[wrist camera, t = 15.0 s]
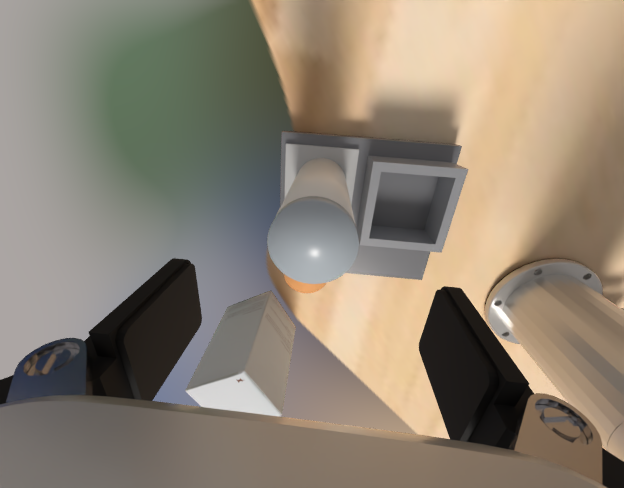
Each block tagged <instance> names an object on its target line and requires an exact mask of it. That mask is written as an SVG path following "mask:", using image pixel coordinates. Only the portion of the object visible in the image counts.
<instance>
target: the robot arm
mask: <svg viewBox="0 0 624 488" xmlns="http://www.w3.org/2000/svg"><path fill="white" fill-rule="evenodd" d="M485 317H486V320H487V322H488V324H489V326H490V327H491V329H492V330H493V331H494V332H495V333H496V334H497V335H498V336H499V337H500V338H502V339H504V340H506V341H509V342H512V343H516V344H521V346H522V347H523V348H524V349H525V350H526V352H527V353H528V354H529V355H530V357H531V358H532V359H533V360H534V361H535V363H536V364H537V365H538V366H539V368H540V369H541V370H542V371H543V373H544V374H545V375H546V376H547V377H548V379H549V380H550V381H551V382H552V384H553V385H554V386H555V387H556V389H557V390H558V391H559V392H560V393H561V395H562V396H563V397H564V398H565V400H566V401H567V402H568V403H567V402H565V401H563V400H561V399H559V398H557V397H555V396H551V395H548V394H542V393H536V394H534V393H533V392H532V390H531V389H530V387H529V386H528V385H529V383H528V381H527V380H526V378H525V377H524V376H523V374H522V373H521V371H520V370H519V369H518V367H517V366H516V364H515V363H514V362H513V360H512V359H511V357H510V356H509V355H508V353H507V352H506V350H505V349H504V348H503V346H502V345H501V344H500V342H499V341H498V339H497V338H496V337H495V335H494V334H493V332H492V331H491V330H490V328H489V327H488V325H487V324H486V323H485V321H484V320H483V318H482V317H481V316H480V314H479V313H478V311H477V310H476V309H475V307H474V306H473V304H472V303H471V302H470V300H469V299H468V297H467V296H466V295H465V293H464V292H463V290H462V289H461V288H455V287H445V286H444V287H442V289H441V290H437V291H436V293H435V296H434V300H433V303H432V306H431V309H430V312H429V315H428V318H427V321H426V324H425V327H424V330H423V333H422V336H421V339H420V342H419V351H420V354H421V357H422V360H423V363H424V366H425V369H426V372H427V374H428V377H429V380H430V383H431V386H432V389H433V392H434V394H435V397H436V400H437V403H438V406H439V409H440V412H441V414H442V417H443V420H444V423H445V426H446V429H447V432H448V434H449V437H450V439H444V438H437V437H431V436H424V435H416V434H409V433H401V432H393V431H386V430H378V429H371V428H364V427H356V426H349V425H341V424H333V423H326V422H317V421H309V420H301V419H294V418H286V417H279V416H271V415H263V414H255V413H247V412H239V411H231V410H222V409H214V408H206V407H198V406H189V405H181V404H172V403H164V402H156V401H152V400H153V399H154V397H155V395H156V394H157V392H158V391H159V389H160V388H161V386H162V385H163V383H164V382H165V380H166V378H167V377H168V375H169V374H170V372H171V371H172V369H173V368H174V366H175V364H176V363H177V361H178V360H179V358H180V357H181V355H182V353H183V352H184V350H185V349H186V347H187V346H188V344H189V342H190V341H191V340H192V338H193V336H194V335H195V333H196V332H197V330H198V329H199V327H200V325H201V321H202V316H201V308H200V301H199V294H198V287H197V280H196V272H195V266H194V265H193V264H191V262H190V261H189V260H184V259H172V260H170V261H169V262H168V263H167V264H166V265H164V266H163V267H162V268H161V269H160V270H159V271H158V272H156V273H155V274H154V275H153V276H152V277H151V278H150V279H149V280H148V281H146V282H145V283H144V284H143V285H142V286H141V287H139V288H138V289H137V290H136V291H135V292H134V293H133V294H132V295H130V296H129V297H128V298H127V299H126V300H125V301H123V302H122V303H121V304H120V305H119V306H118V307H117V308H116V309H115V310H113V311H112V312H111V313H110V314H109V315H108V316H106V317H105V318H104V319H103V320H102V321H101V322H100V323H98V324H97V325H96V326H95V327H94V328H93V329H92V330H90V331H89V334H90V336H89V337H88V338H87V339H86V340H85V341H83V340H81V339H77V338H65V339H60V340H56V341H53V342H50V343H48V344H45V345H43V346H41V347H39V348H37V349H35V350H34V351H32V352H31V353H29V354H28V355H27V356H25V357H24V358H23V360H21V361H20V362H19V364H18V366H17V367H16V369H15V372H14V375H13V376H10V377H8V378H4V379H2V380H0V488H624V308H620V307H618V306H617V305H615V304H614V303H612V302H611V301H609V300H608V299H606V298H605V297H604V296H603V287H602V284H601V281H600V279H599V277H598V276H597V275H596V274H595V273H594V272H593V271H592V270H590V269H589V268H587V267H586V266H584V265H582V264H580V263H578V262H575V261H571V260H567V259H546V260H541V261H537V262H533V263H530V264H527V265H525V266H522V267H520V268H519V269H517V270H515V271H513V272H511V273H510V274H509V275H507V276H506V277H504V278H503V279H502V280H501V281H500V282H499V283H498V284H497V285H496V286H495V287H494V289H493V290H492V291H491V293H490V295H489V297H488V299H487V301H486V305H485ZM602 445H603V446H604V448H605V449H606V450H607V451H606V450H605V449H603V448H602Z"/></svg>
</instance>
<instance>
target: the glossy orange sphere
mask: <svg viewBox="0 0 624 488" xmlns="http://www.w3.org/2000/svg"><path fill="white" fill-rule="evenodd" d="M284 278H285V281H286V282H287V284H288V285H289V286H290V287H291V288H292V289H294V290H296V291H298V292H302V293H312V292H316V291H318V290H320V289H321V288H323V287H324V285H325V284H326V283H321V284H308V283H303V282H299V281H296V280H294V279H292V278H290V277H288V276H286V275H285V274H284Z"/></svg>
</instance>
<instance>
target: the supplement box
mask: <svg viewBox="0 0 624 488" xmlns="http://www.w3.org/2000/svg"><path fill="white" fill-rule="evenodd" d="M295 328H296V327H295V325H294V324H293V322H292V321H291V319H290V318H289V316H288V315H287V313H286V312H285V310H284V309H283V307H282V306H281V304H280V303H279V302H278V300H277V298H276V297H275V295H274V294H273V292H272V291H268V292H265V293H263V294H260V295H258V296H255V297H252V298H250V299H247V300H245V301H242V302H239V303H237V304H234V305H232V306H229V307H228V308H227V309H226V311H225V314H224V315H223V317H222V319H221V321H220V323H219V325H218V327H217V329H216V331H215V333H214V335H213V337H212V339H211V341H210V343H209V345H208V347H207V349H206V351H205V353H204V355H203V357H202V359H201V361H200V363H199V364H198V366H197V369H196V371H195V372H194V375H193V376H192V378H191V380H190V382H189V384H188V386H187V388H186V390H185V391H186V392H187V393H188V394H189V395H190V396H191V397H192V398H193V399H194V400H195V401H196V402H197V403H198V404H199V405H200V406H201V407H206V408H214V409H222V410H231V411H239V412H247V413H255V414H263V415H271V416H282V411H283V405H284V398H285V392H286V385H287V379H288V373H289V366H290V360H291V353H292V346H293V341H294V334H295Z"/></svg>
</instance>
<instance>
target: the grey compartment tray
mask: <svg viewBox="0 0 624 488" xmlns="http://www.w3.org/2000/svg"><path fill="white" fill-rule="evenodd" d="M461 147H462V146H459V145H455V144H444V143H431V142H419V141H406V140H394V139H381V138H368V137H356V136H343V135H331V134H318V133H306V132H293V131H282V136H281V190H280V191H281V192H280V193H281V194H280V207H281V205H282V203H283V201H284V199H285V197H286V195H287V193H288V192H289V190H290V188H291V186H292V184H293V182H294V180H295V178H296V176H297V174H298V172H299V170H300V169H301V167H302V166H303V165H304V164H305V163H307V162H308V161H310V160H312V159H315V158H327V159H330V160H332V161H334V162H336V163H337V164H338V165H339V166H340V167H341V169H342V170H343V172H344V175H345V178H346V183H347V188H348V192H349V197H350V202H351V206H352V211H353V216H354V220H355V225H356V229H357V234H358V239H359V249H358V254H357V257H356V259H355V261H354V263H353V265H352V266H351V267H350V269H349V270H348V271H347V272H346V273H353V274H364V275H375V276H385V277H396V278H407V279H418V280H422V278H423V274H424V271H425V268H426V264H427V261H428V258H429V254H430V251H431V252H442V249H443V246H444V243H445V240H446V237H447V234H448V231H449V228H450V224H451V221H452V218H453V215H454V212H455V209H456V206H457V203H458V199H459V196H460V193H461V190H462V187H463V184H464V181H465V178H466V175H467V171H468V169H466V168H464V167H462V166H459V165H457V161H458V157H459V154H460V151H461Z"/></svg>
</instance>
